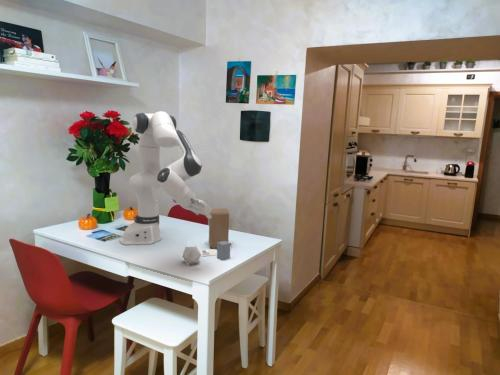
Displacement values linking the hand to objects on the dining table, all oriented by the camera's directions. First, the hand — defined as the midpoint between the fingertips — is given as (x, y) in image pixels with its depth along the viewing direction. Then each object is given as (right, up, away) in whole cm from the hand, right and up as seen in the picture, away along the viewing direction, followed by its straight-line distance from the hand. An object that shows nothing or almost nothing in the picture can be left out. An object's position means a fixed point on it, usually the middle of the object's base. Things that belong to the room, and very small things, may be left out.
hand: (204, 215), depth 172 cm
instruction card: (-2, -21, +18) cm, 27 cm away
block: (+4, -19, +31) cm, 36 cm away
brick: (+8, -22, +12) cm, 27 cm away
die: (-7, -23, +4) cm, 24 cm away
